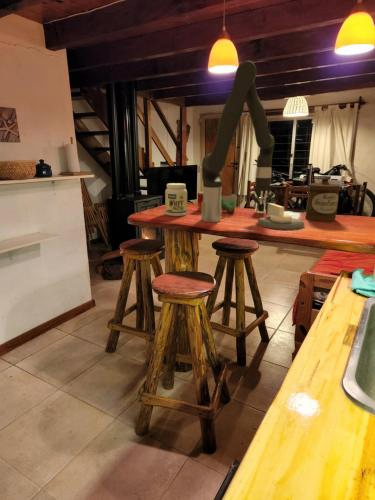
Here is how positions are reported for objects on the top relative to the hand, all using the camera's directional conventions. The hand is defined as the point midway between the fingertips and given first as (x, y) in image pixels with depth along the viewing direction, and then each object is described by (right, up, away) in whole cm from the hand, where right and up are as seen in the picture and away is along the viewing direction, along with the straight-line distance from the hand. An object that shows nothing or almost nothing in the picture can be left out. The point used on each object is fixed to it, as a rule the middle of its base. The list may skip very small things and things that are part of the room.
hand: (260, 211), depth 162 cm
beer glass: (+5, +2, +24) cm, 25 cm away
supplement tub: (-44, 0, +17) cm, 47 cm away
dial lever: (+7, -4, -2) cm, 9 cm away
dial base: (+8, -7, -6) cm, 12 cm away
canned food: (-28, +4, +29) cm, 41 cm away
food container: (-12, +2, +24) cm, 27 cm away
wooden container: (+34, -3, +8) cm, 35 cm away
